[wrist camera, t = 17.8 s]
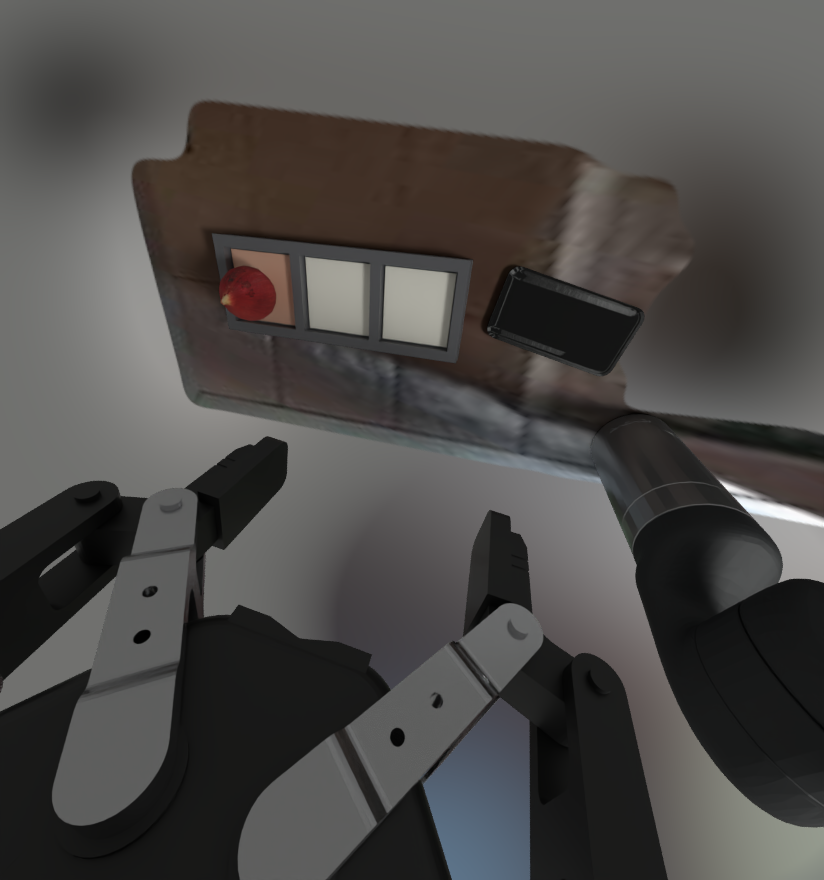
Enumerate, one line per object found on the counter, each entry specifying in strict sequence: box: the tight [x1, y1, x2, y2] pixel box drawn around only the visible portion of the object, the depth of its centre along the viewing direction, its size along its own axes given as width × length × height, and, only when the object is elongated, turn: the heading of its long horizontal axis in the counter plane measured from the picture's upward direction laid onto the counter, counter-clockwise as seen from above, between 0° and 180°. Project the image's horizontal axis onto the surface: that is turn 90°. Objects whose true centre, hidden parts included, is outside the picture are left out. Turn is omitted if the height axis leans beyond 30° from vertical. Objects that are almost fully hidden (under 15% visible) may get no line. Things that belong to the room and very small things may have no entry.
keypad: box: [212, 233, 473, 363], centre depth 42 cm, size 30×11×3 cm, turn 85°
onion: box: [219, 265, 276, 321], centre depth 40 cm, size 6×6×8 cm
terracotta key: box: [231, 249, 295, 325], centre depth 43 cm, size 8×8×1 cm
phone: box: [487, 267, 644, 376], centre depth 39 cm, size 8×1×15 cm
